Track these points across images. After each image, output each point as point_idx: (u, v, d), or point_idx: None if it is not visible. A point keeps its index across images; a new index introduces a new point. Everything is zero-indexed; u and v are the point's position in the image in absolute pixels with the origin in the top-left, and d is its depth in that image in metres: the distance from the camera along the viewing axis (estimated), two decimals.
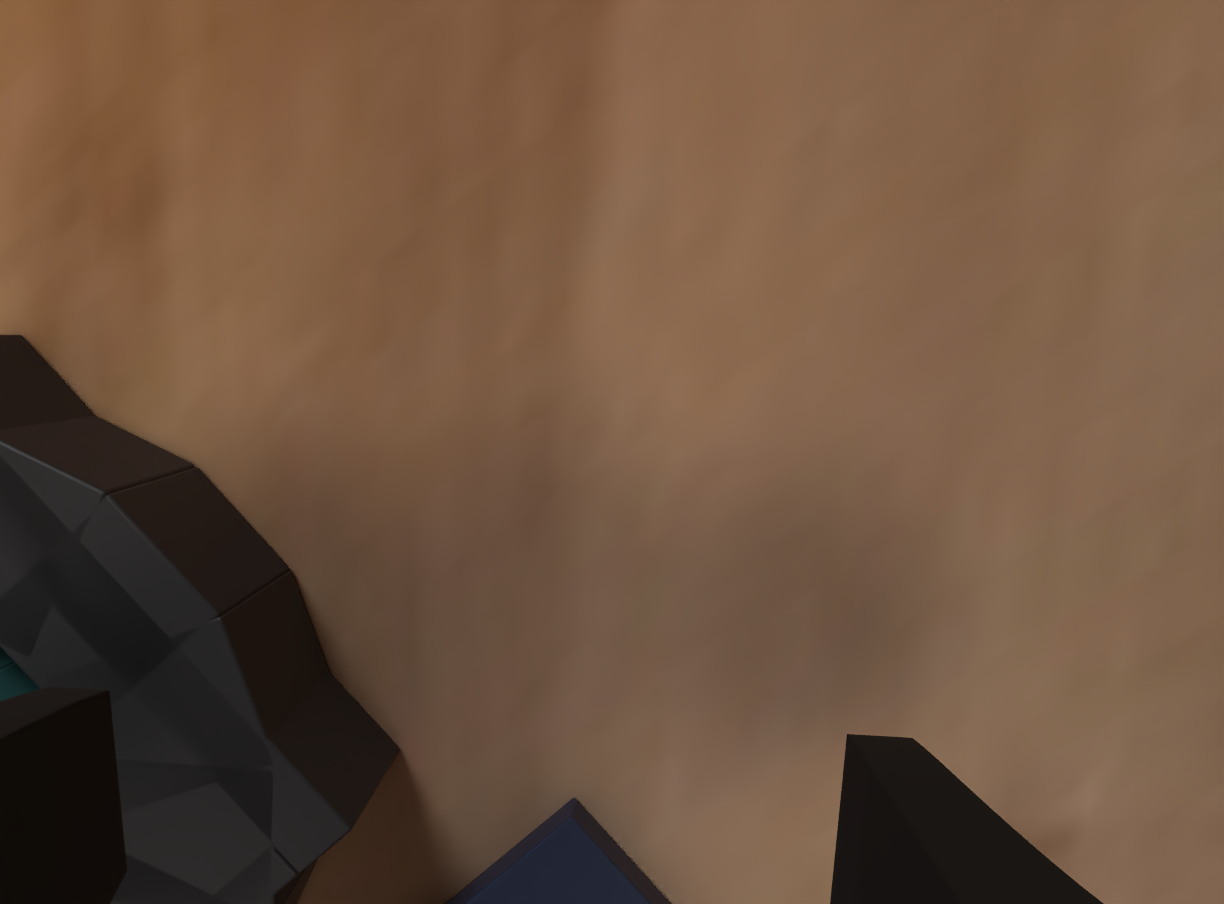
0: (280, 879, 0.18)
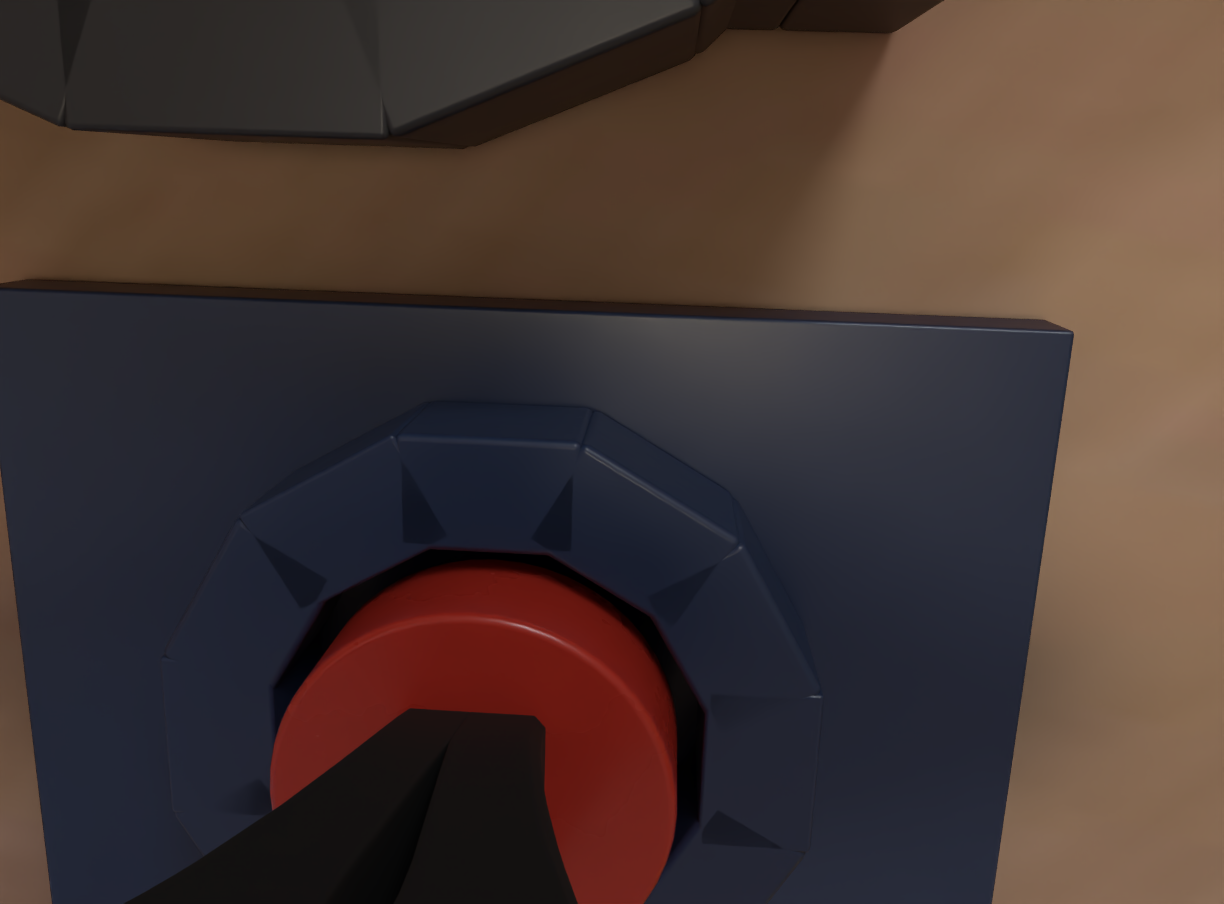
0: None
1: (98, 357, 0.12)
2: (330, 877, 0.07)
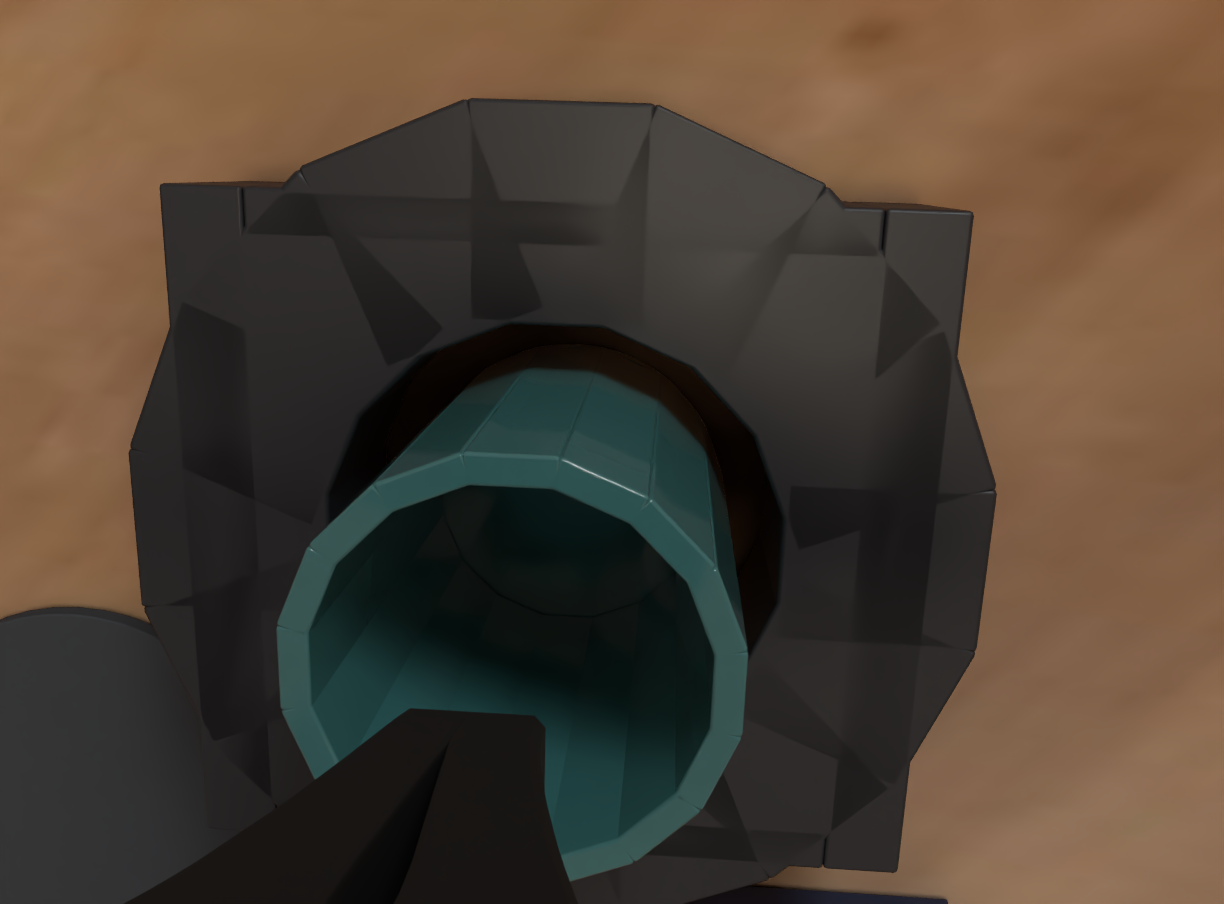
0: (808, 862, 0.18)
1: None
2: (330, 877, 0.07)
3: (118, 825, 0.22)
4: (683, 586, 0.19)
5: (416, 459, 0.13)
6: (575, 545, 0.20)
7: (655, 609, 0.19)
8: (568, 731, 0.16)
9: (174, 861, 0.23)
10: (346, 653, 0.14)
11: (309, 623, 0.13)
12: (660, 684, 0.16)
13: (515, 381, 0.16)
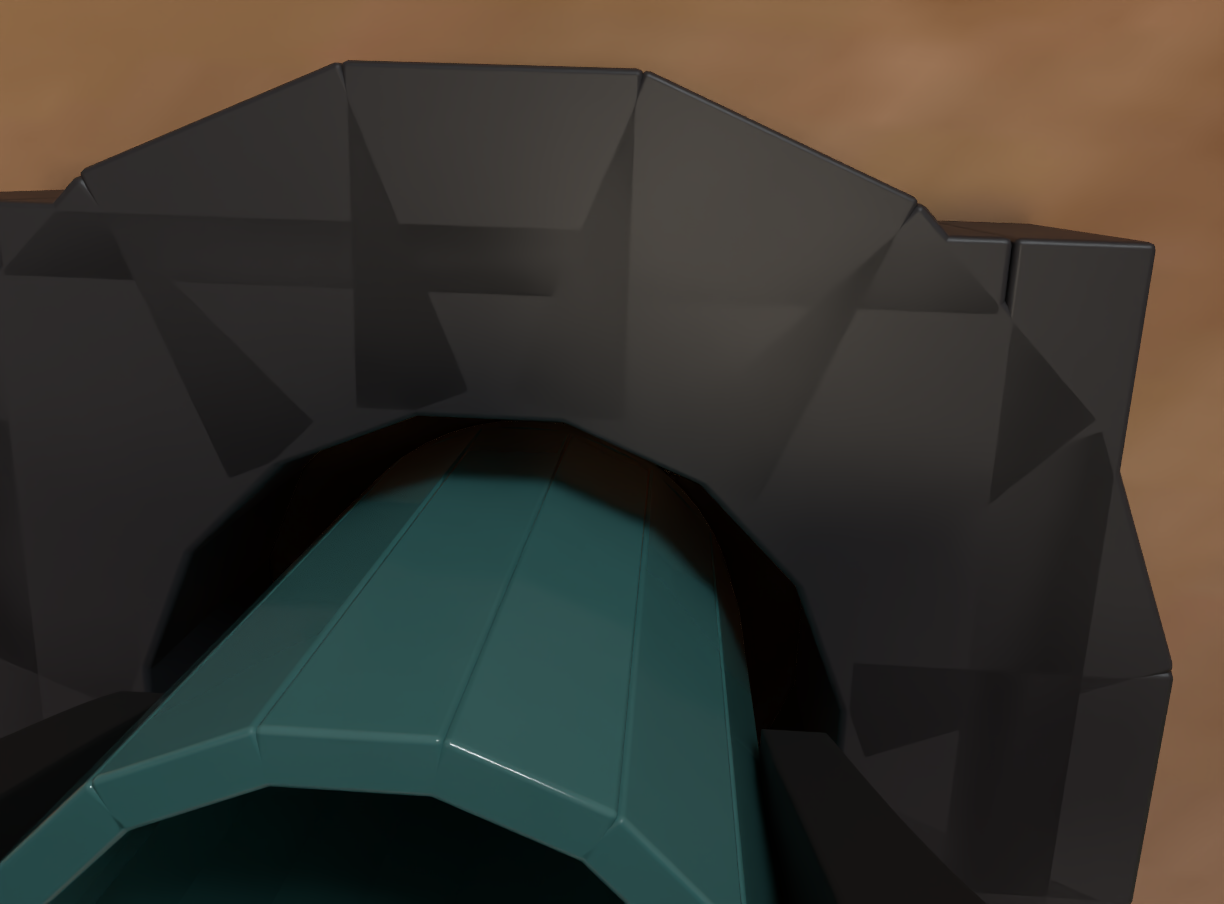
0: None
1: None
2: None
3: None
4: None
5: (190, 713, 0.07)
6: None
7: None
8: None
9: None
10: None
11: None
12: None
13: (421, 506, 0.10)
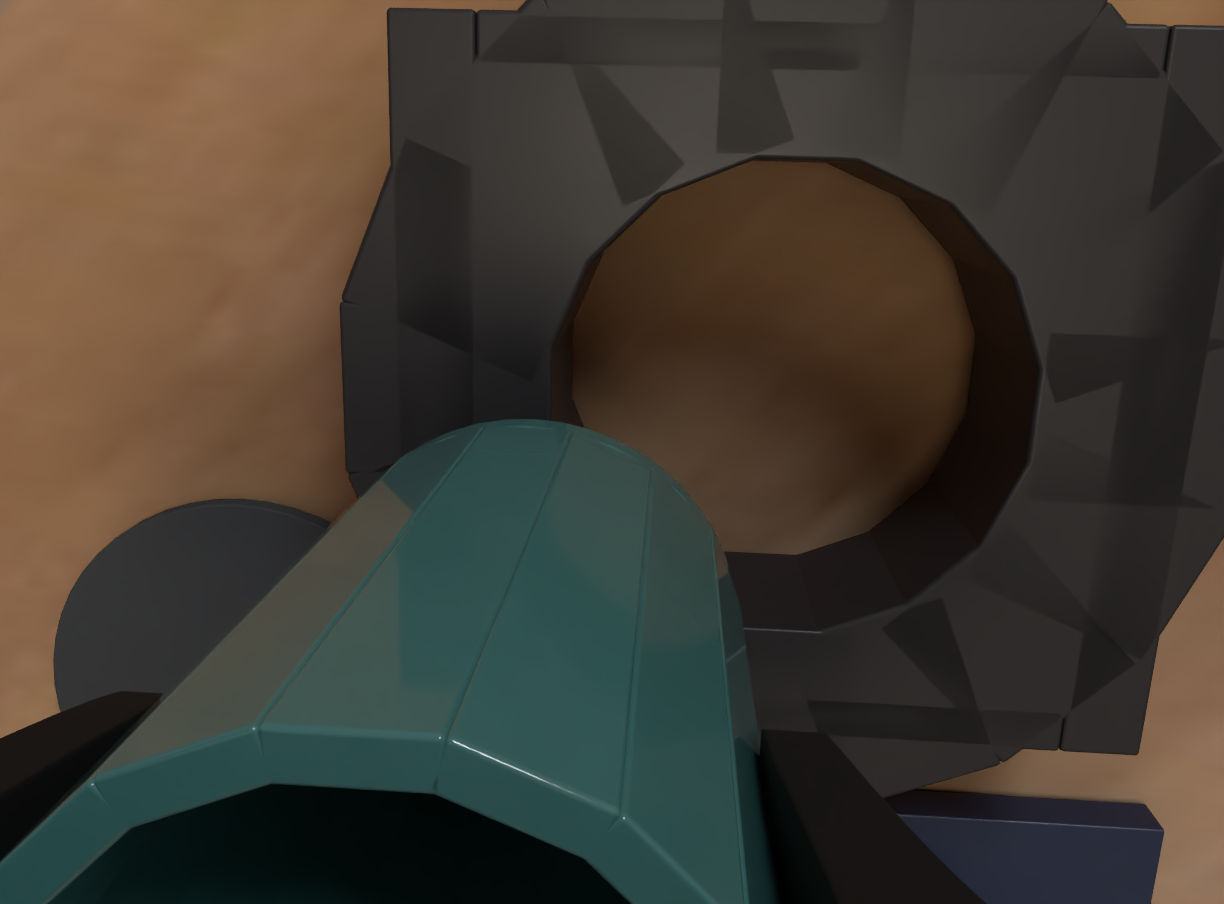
0: (1045, 744, 0.17)
1: None
2: None
3: None
4: None
5: (192, 711, 0.07)
6: None
7: None
8: None
9: None
10: None
11: None
12: None
13: (422, 504, 0.10)
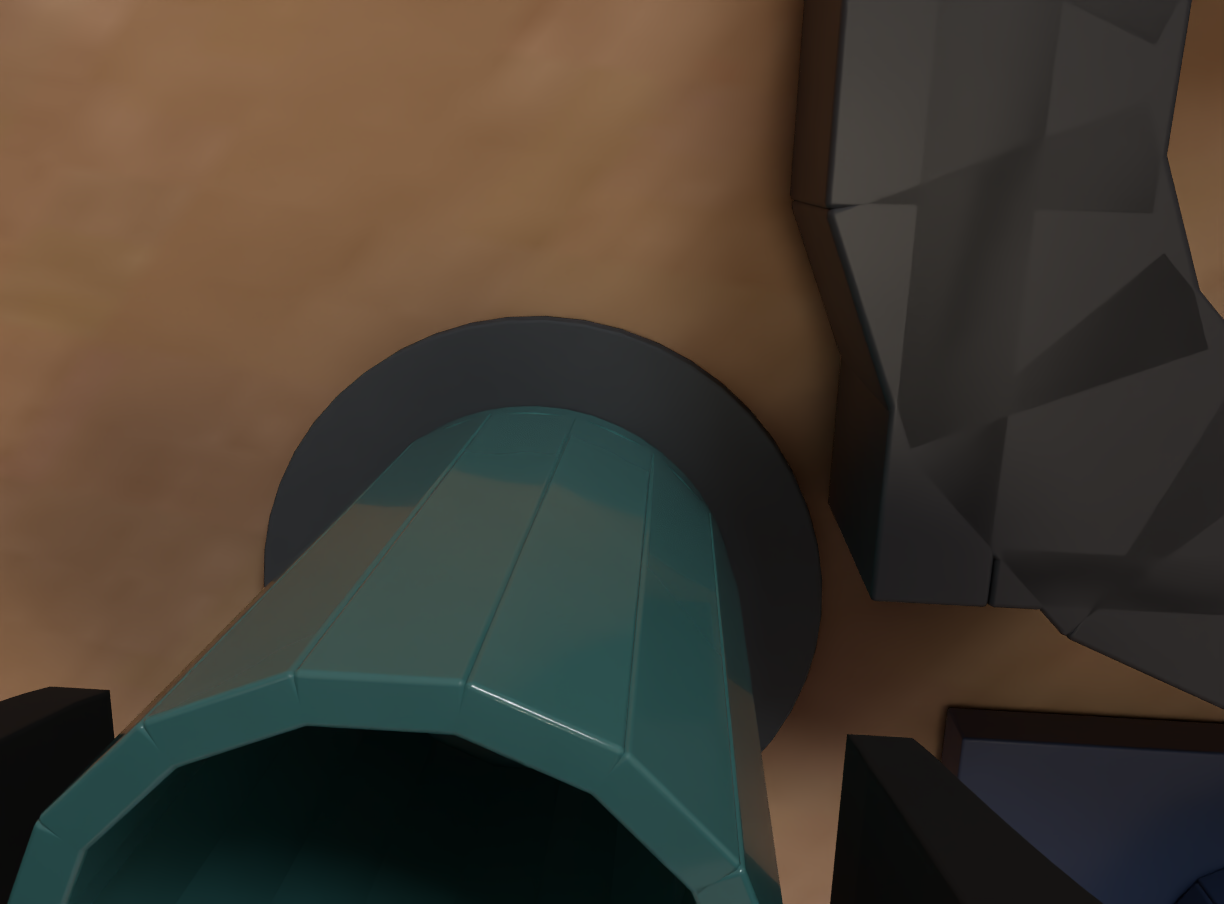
0: None
1: (1052, 791, 0.15)
2: None
3: None
4: None
5: (230, 663, 0.07)
6: None
7: None
8: None
9: None
10: None
11: None
12: None
13: (436, 483, 0.11)
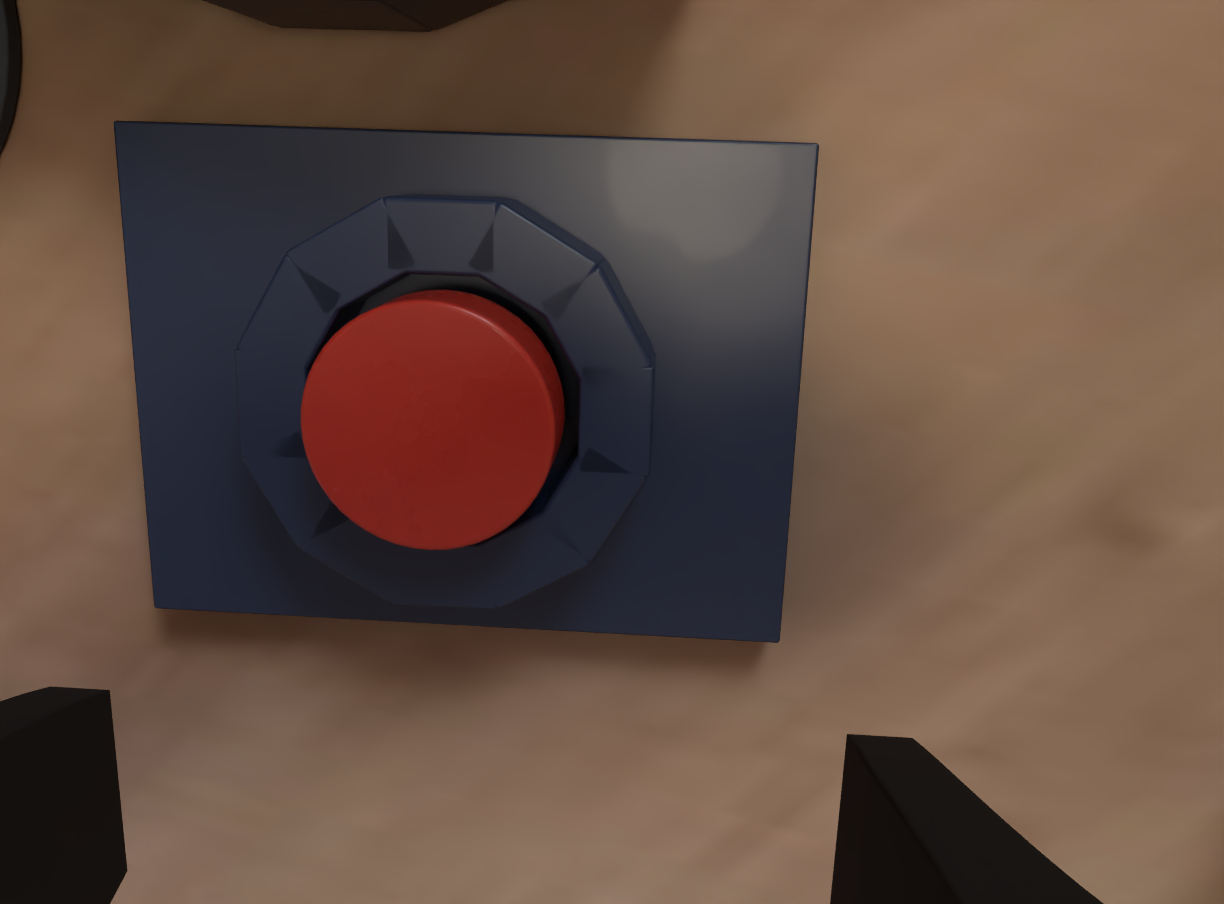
0: None
1: (190, 167, 0.18)
2: None
3: None
4: None
5: None
6: None
7: None
8: None
9: None
10: None
11: None
12: None
13: None
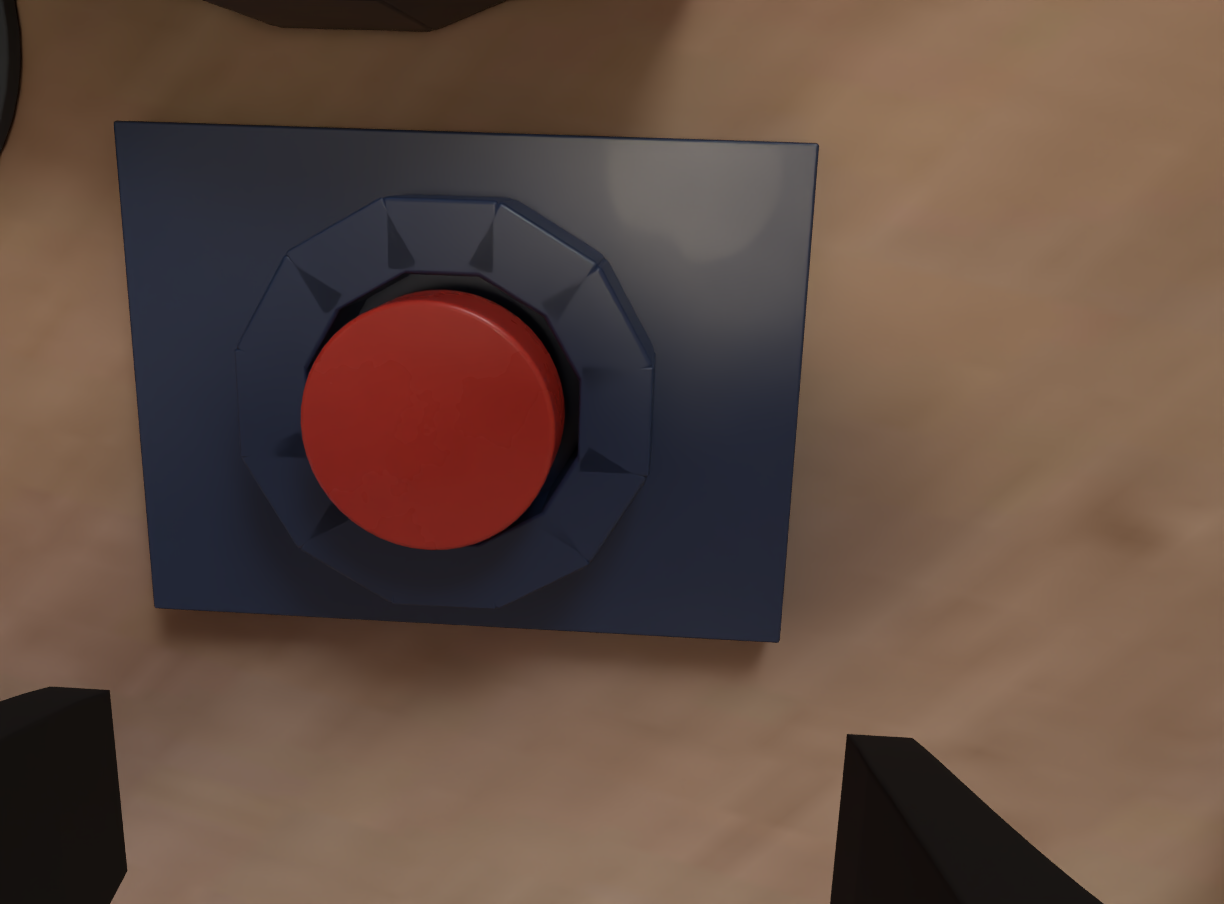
0: None
1: (190, 167, 0.18)
2: None
3: None
4: None
5: None
6: None
7: None
8: None
9: None
10: None
11: None
12: None
13: None
